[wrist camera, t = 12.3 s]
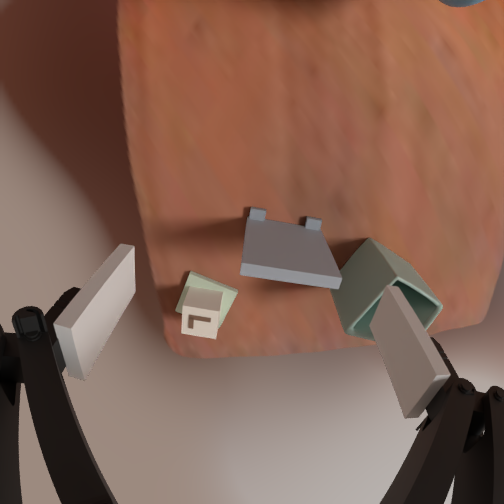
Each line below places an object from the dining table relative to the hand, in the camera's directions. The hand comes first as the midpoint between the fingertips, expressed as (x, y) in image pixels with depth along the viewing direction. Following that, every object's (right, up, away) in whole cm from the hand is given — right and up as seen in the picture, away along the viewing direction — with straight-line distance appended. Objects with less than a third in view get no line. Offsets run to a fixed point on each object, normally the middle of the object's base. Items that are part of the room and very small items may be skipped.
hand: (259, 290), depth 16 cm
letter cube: (-9, -7, +41) cm, 42 cm away
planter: (+20, +1, +38) cm, 43 cm away
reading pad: (-9, -7, +42) cm, 43 cm away
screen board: (+5, +6, +35) cm, 36 cm away
